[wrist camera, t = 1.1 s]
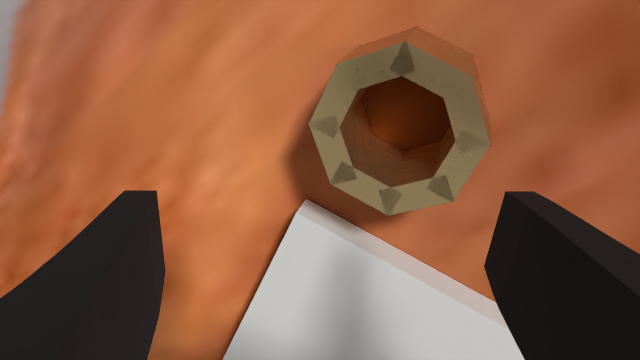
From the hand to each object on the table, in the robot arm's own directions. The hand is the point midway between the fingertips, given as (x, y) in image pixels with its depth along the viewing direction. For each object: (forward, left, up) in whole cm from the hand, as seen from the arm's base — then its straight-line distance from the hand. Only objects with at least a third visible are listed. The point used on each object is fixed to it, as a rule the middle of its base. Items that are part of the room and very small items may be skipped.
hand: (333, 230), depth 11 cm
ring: (0, 0, -12) cm, 11 cm away
